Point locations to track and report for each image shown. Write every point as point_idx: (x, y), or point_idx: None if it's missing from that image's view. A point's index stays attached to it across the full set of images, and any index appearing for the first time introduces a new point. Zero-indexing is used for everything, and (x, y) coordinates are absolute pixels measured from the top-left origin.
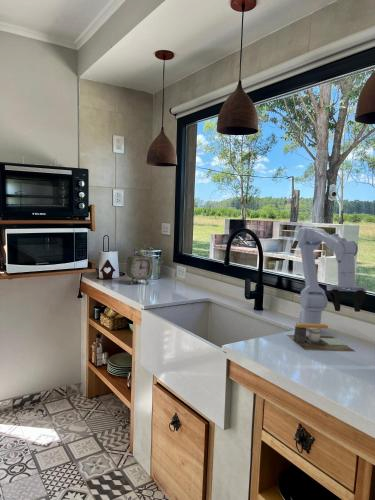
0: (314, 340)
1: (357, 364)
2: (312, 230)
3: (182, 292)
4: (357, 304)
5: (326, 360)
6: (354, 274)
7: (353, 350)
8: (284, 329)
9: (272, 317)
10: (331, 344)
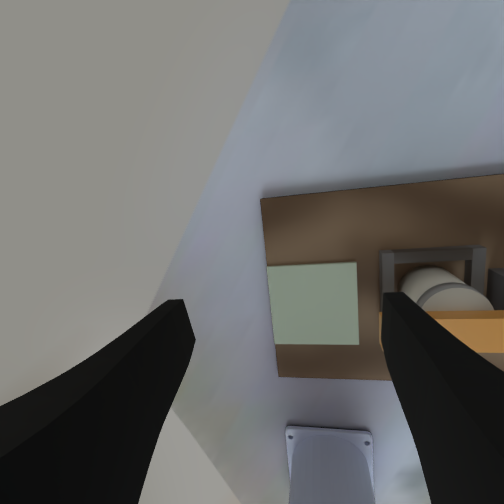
0: (444, 271)
1: (320, 61)
2: None
3: None
4: (152, 362)
5: (466, 80)
6: None
7: (266, 208)
8: None
9: None
10: (345, 263)
